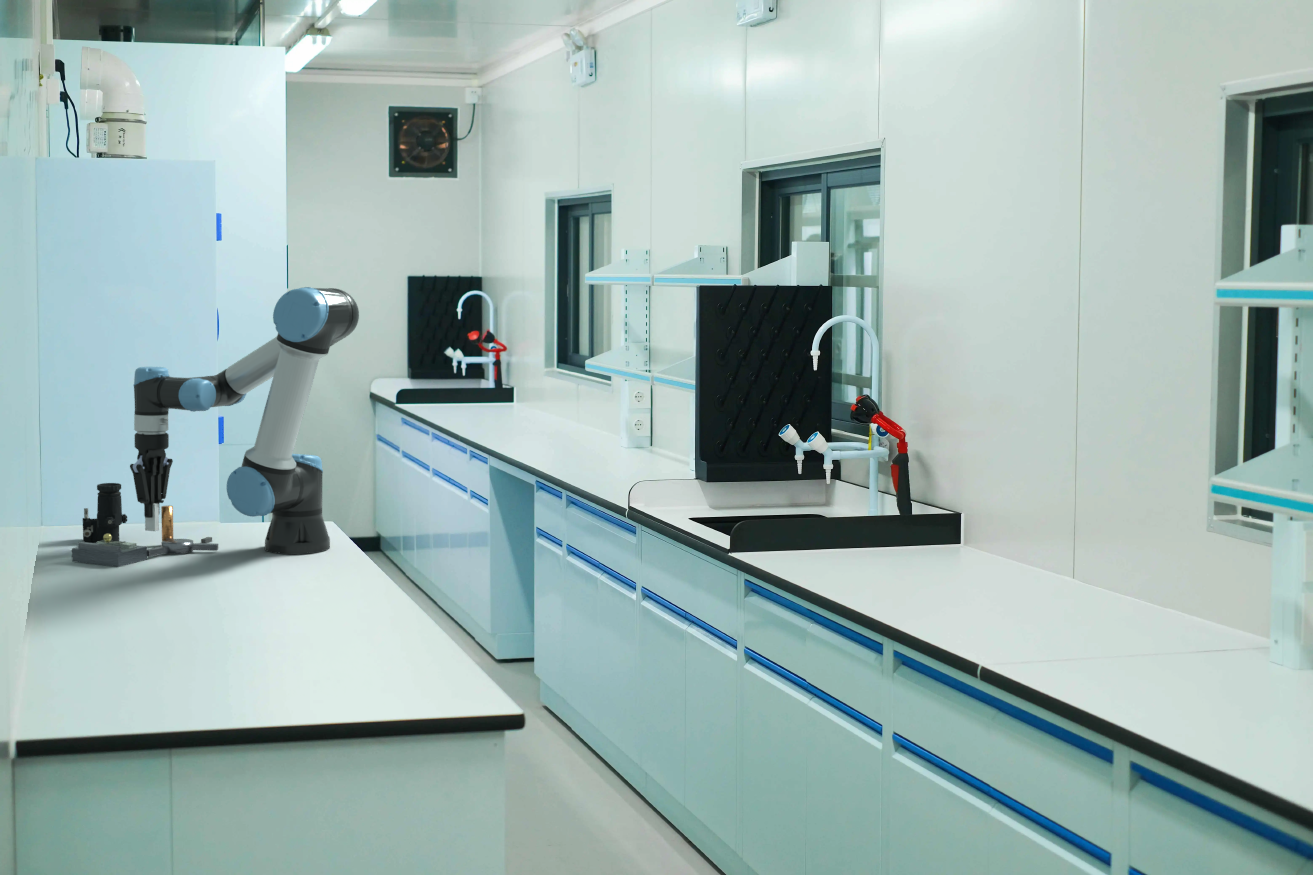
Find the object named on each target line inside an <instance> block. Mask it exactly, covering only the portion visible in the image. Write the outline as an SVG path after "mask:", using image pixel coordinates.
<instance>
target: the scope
mask: <svg viewBox="0 0 1313 875" xmlns="http://www.w3.org/2000/svg"><path fill="white" fill-rule="evenodd" d="M96 490H97V491H98V492H97V507H96V509H97V510H96V512H97V513H96V517H95V518H90V517H89V507H87V508H86V507H85V508H83V516H84V517H82V540H83V541H82V542H87V543H97V541H101V540H104V539H103V536H104V535H105V534H110V535H111V536H112V539H111V540H112V541H115V540H117V541H120V525H122V524H126V523H127V522H128V516H127V515H126V513H123V511H122V510H123V509H122V508H123V507H122V506H123V505H122V495H121V494H122V493H121V490H122V484H121V483H118V482H104V483H98V484H97V485H96Z"/></svg>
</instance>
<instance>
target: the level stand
mask: <svg viewBox="0 0 1313 875" xmlns="http://www.w3.org/2000/svg"><path fill="white" fill-rule="evenodd" d="M103 539H104V540H101V541H97V543H87V542H84V541H80V542H78V544H77V545H78V546H76V547H73V548H71V559H72V560H71V561H72V562H74V563H81V564H90V565H96V566H97V565H98V566H107V567H114V568H115V567H116V568H119V567H125V566H128V565H131V564H132V565H133V564H136V563H139V562H142V561H147V560H148V557H147V549H148V547H147V546H145V545H137V543H136V542H129V541H120V540H119V541H117V540H115V541H112V540H111V539H112V536H111V535H110V534H105V535H104V536H103Z"/></svg>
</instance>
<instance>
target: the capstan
mask: <svg viewBox="0 0 1313 875" xmlns="http://www.w3.org/2000/svg"><path fill="white" fill-rule="evenodd" d="M160 508H161V509H160V510H161V511H160V512H161V514H160V515H161V546H157V547H152V548H147V558H150V557H154V556H158V555H164V554H168V555H179V554H180V555H181V554H188V553H192V552H194V551H209V552H210V551H213V552H214V551H216V552H217V551H218V550H219V543H215V542H214V543H211V542H209V543H201V542H200V543H199V542H198V543H197V542H196V543H195V542H194V540H192V539H190V538H189V539H188V538H174V506H173V505H161V506H160Z"/></svg>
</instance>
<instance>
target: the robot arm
mask: <svg viewBox="0 0 1313 875" xmlns="http://www.w3.org/2000/svg"><path fill="white" fill-rule="evenodd" d="M272 320H273V324H274V325H275V330H276V332H277V335H276V336H275V337H274V338H271V340H268V342H265V343H264V344H262V345H260V347H258V348H256V349H254V350H253V351H252V352H250V353H248V354H247V355H246V356H244V357H242V358H241V359H239V360H237V361H236V362H234V363H233V364H230V366H228V367H227V368H225V369H224V370H222V371H220V372H219V373H218V374H215V375H206V376H195V377H174V376H170V374H169V369H168V368H167V367H164V366H163V367H162V366H140V367H137V368H136V369H135V371H134V378H133V380H134V381H133V396H134V397H133V398H134V415H133V417H134V420H133V421H134V422H133V424H134V425H133V430H134V431H135V432H136V433H135V434H134V448H135V449H136V450H137V451H138V453H137V457H136V462H135V463H130V464H129V469H130V470H131V472H132V476H133V481H134V487H135V493H136V498H137V502H138V503H140V504H143V506H144V509H143V510H144V512H143V516H144V519H145V520H144V530H145V531H148V532H158V531H160V528H159V526H160V524H159V523H160V504H163V503H165V502H164V501H165V499H166V498H167V494H168V493H167V492H168V484H169V479H170V471H171V468H172V465H173V462H174V460H173V459H172V458H168V457H167V453H166V450H167V449H168V448H169V444H170V443H169V442H170V441H169V440H170V439H169V437H170V436H169V433H168V431H169V411H170V410H179V411H180V410H181V411H190V412H192V413H193V412H206V411H209V410H210V408H216V407H218V408H219V407H231V406H234V405H237V404H239V403H241V402H243V400H244V399H245V398H246V396H247V394H248V393H249V392H251V391H253V390H254V389H256V388H257V387H259V386H260V385H262V384H264V383H265V382H266V381H268V380H270V379H271V380H272V381H271V383H270V387H269V391H268V395H267V399H266V402H265V406H264V410H263V412H262V417H261V421H260V425H259V428H258V431H257V435H256V438H255V443H254V445H253V447H251V448H249V449H246V451H245V452H244V456H243V459H242V463H241V466H238V467H237V468H236V469H234V470H233V471H232V472H230V474H229V475H228V477H227V481H226V493H227V497H228V500H230V502H231V505H232V506H233V508H234V509H235V510H236V511H238V512H239V513H240V514H241V515H242V514H243V516H247V517H252V518H253V517H264V516H267V515H269V514H272V515H271V521H270V523H269V527H268V530H267V533H266V536H265V539H264V549H265V551H266V552H270V553H273V554H282V555H283V554H284V555H304V554H314V553H319V552H325V551H327V550H329V549H330V548H331V538H330V535H329V532H328V529H327V527H326V523H325V520H324V517H323V473H324V469H323V461H322V458H321V457H320V456H318V455H316V454H315V455H314V454H305V453H304V454H302V453H294V449H295V447H296V443H297V440H298V435H299V434H300V433H299V431H300V429H301V425H302V421H303V419H304V418H303V417H304V415H305V414H304V413H305V411H306V407H307V404H308V401H309V397H310V393H311V390H312V385H313V382H314V379H315V375H316V372H317V368H318V364H319V362H320V360H321V359H323V358H324V357H325V356H328V354H329V351H330V348H331V347H332V346H333V345H335V344H337V343H338V342H340V341H342V340H343V339H345V338H347V337H348V336H349V335H351V334H352V333H353V331H355V329H356V328H357V325H358V323H359V320H360V310H359V307H358V304H357V302H356V300H355V299H354V298H353V297H352V296H351V294H350V293H348V292H346V291H345V290H342V289H339V288H333V287H332V288H330V287H329V288H328V287H327V288H321V287H311V286H308V287H307V286H305V287H298V288H294V289H291V290H288V291H287V292H285V293H284V294H283V295H281V297H280V298H279V299H278V300H277V302H276V304H275V306H274V308H273V313H272Z"/></svg>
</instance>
